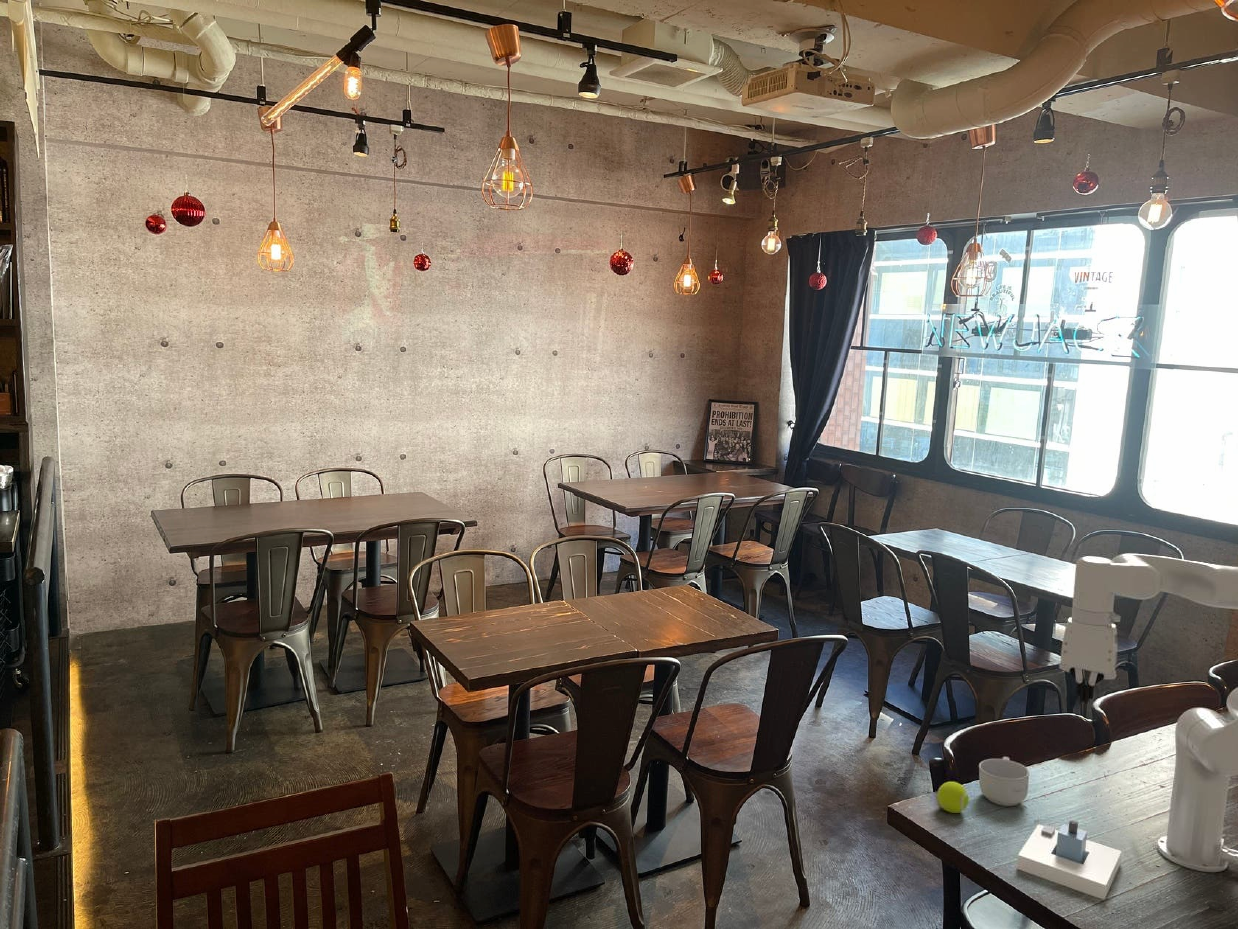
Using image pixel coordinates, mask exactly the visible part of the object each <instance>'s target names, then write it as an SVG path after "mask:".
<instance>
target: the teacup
mask: <svg viewBox="0 0 1238 929" xmlns="http://www.w3.org/2000/svg"><path fill="white" fill-rule="evenodd" d="M978 771H979V774H978V775H979V776H978V778H979V779H978V780H979V789H980V792H981V794H983V796H984V797H985V798H986V799H987V800H988V801H990V802H991V803H994V804H996V805H998V806H1005V807H1013V806H1016V805H1018V804H1019V803H1022V802H1023V801H1025V799H1026V798H1027V796H1028V791H1029V777H1030V770H1029V769H1028V767H1026V766H1025V765H1023V764H1021V763H1019V762H1016V761H1013V760H1010V758H1009V756H1003V757H1002V758H988V759H984V760H981V762H979V764H978Z"/></svg>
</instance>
